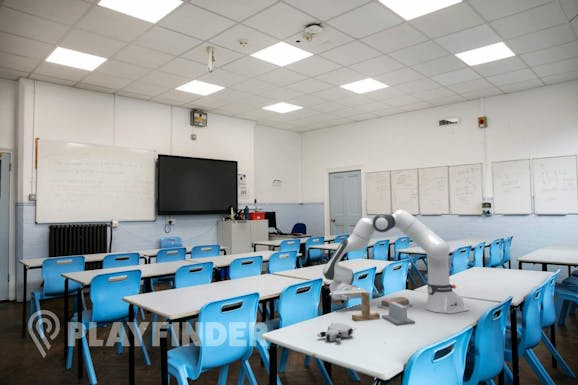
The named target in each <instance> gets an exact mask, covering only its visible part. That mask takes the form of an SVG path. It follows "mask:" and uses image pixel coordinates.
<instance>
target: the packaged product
mask: <svg viewBox="0 0 578 385" xmlns="http://www.w3.org/2000/svg"><path fill="white" fill-rule="evenodd" d="M389 302H396V303H398V304H401V305H403V306H405V307H407V308H410V307H411V308H412V307H413V304H410V301H409V298H407V297H403V296H399V297H392V298H386V299H383V300H381V303H380V304H378V305H377V308H379V309H382V310H386V311H389Z"/></svg>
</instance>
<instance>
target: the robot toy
mask: <svg viewBox="0 0 578 385" xmlns="http://www.w3.org/2000/svg"><path fill="white" fill-rule="evenodd" d="M356 329H357V327H354V329H353V327H352V326H351V325H349V324H346V323H334V322H331V323H330V325H329V326H328V327H327V331H321V332H319V333H318V334H317V335H316V336H317V337H318V338H324V337H325V341H330V342H336V341H337V342H341V341H342V337H343V338H348V337H349V336H350V335H352V334H353V333H354V331H355V330H356Z"/></svg>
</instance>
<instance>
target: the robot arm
mask: <svg viewBox="0 0 578 385" xmlns="http://www.w3.org/2000/svg"><path fill="white" fill-rule="evenodd" d="M393 228H395V229H398V230H399V231H400V232H402V233H403V234H404V235H405V236H406V237H407V238H409V239H410V240H411V241H412V242H413V243H415V244H416V245H417V246H418V247H420V249H422V251H424V252H425V253H426V262H427V264H426V265H427V289H426V290H427V301H426V306H425V309H426V310H427V311H429V312H434V313H440V314H441V313H443V314H450V315H451V314H455V313H456V314H457V313H462V312H466V311H469V310H470V309H469V307H467V306H465V302H464V299H463V298H462V297H461V296H460V295H458V293H456V292H454V290H456V288H457V285H455V284H451V283H450V267H449V265H450V264H449V255H450V253H451V252H450V251H451V250H450V249H451V248H450V245H449V244H448V243H447V241H445V240H444V239H443V238H441V237H440V236H439V235H437V234H436V233H435V232H434V231H433V230H431V229H430V228H429V227H428V226H426V224H424V223H423V222H421V221H420V220H419V219H418V218H416V217H415V216H414V215H413V214H411V213H409V212H408V211H406V210H404V209H397V210H396V211H395V212H393V213H392V214H389V213H388V212H380V213H377V214H376V215H375V216H374V217H373V218H369V217H362V218H360V219H359V220H358V222H357V223H356V224H355V227H354V229H353V230H352V233H351V235H349V237H347V238H346V239H343V240H342V241H341V242H340V244H339V245H338V246H337V248H336V250H335V251H334V253H333V254H332V255H331V257H330V259H329V260H328V261H327V262H326V264H325V265H324V267H323V269H322V274H323V277H324V278H325V280H328V281H331V282H330V284H329V291H330V293H329V294H328V295H329V296H330V297H331V298H332V300H334V301H340V300H341V301H344V302H345V301H346V302H347V301H350V300H354V299H362V294H361V292H368V291H367V290H366V289H364V288H362V287H360V286H359V285H353V284H354V279H355V274H354V272H353V270H352V269H351V268H348V267H346V266H342V265H340V264H339V262H340V260H341V259H342V258H343V256H344V255H346V253H348V252H356V251H357V252H359V251H363V250H365V249H367V247H368V245H369V243H370V242H371V239H372V236H373V235H374V233H375V232H378V233H381V234H382V233H387V232H389V231H390V230H391V229H393ZM453 289H454V290H453Z"/></svg>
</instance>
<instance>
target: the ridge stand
mask: <svg viewBox="0 0 578 385" xmlns="http://www.w3.org/2000/svg"><path fill="white" fill-rule="evenodd" d="M381 318H382V319H383V320H385V321H387V322H389V323H391V324H393V325H394V326H396V327H397V326H404V325H414V324H416V322H415V321H414V320H413V319H411V318H409V317H408V307H405V306H403V305H401V304H398V303H396V302H389V310H388V314H385V315H384V314H383V315H381Z"/></svg>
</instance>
